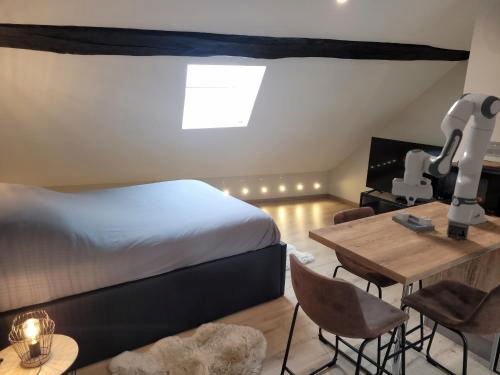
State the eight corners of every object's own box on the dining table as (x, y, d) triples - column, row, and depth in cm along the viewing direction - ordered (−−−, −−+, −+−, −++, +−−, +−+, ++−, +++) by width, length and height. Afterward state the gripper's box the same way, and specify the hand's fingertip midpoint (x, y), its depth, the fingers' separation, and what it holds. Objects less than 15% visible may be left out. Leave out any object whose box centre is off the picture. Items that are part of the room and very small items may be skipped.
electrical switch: (467, 238, 183) (470, 221, 180) (466, 242, 179) (469, 225, 176) (446, 234, 188) (449, 218, 185) (445, 238, 184) (447, 221, 181)
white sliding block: (401, 218, 207) (403, 210, 206) (407, 221, 203) (409, 212, 201) (396, 218, 206) (397, 210, 205) (402, 221, 202) (403, 213, 200)
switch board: (410, 218, 211) (410, 214, 211) (434, 230, 194) (435, 225, 193) (391, 219, 208) (392, 215, 207) (414, 231, 190) (415, 227, 190)
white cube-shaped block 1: (423, 224, 199) (425, 215, 198) (430, 227, 194) (432, 218, 193) (418, 224, 198) (419, 215, 197) (424, 227, 193) (426, 218, 192)
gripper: (391, 178, 198) (389, 203, 201) (432, 182, 187) (429, 208, 190) (394, 176, 203) (392, 200, 206) (434, 180, 192) (431, 205, 195)
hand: (410, 204), depth 198 cm, fingers closed
